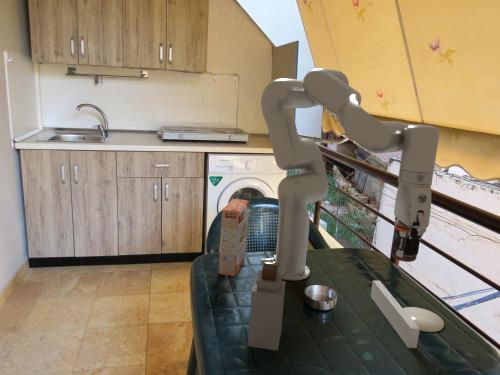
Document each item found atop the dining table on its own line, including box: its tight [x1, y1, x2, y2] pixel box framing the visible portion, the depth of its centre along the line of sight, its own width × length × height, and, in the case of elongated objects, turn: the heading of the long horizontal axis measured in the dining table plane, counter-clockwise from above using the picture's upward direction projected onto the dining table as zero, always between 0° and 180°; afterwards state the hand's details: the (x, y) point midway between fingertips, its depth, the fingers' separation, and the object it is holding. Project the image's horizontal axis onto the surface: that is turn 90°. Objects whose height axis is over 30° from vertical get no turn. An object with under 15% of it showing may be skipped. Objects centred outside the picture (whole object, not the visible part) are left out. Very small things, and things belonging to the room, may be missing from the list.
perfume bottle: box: [247, 264, 286, 351], centre depth 93 cm, size 7×7×18 cm
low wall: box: [370, 280, 420, 349], centre depth 106 cm, size 2×24×5 cm, turn 5°
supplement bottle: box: [391, 221, 418, 263], centre depth 101 cm, size 6×6×11 cm
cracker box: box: [217, 198, 250, 277], centre depth 129 cm, size 14×6×21 cm, turn 168°
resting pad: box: [402, 306, 445, 333], centre depth 107 cm, size 11×11×1 cm
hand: (405, 248), depth 102 cm, fingers closed on supplement bottle, 6 cm apart
